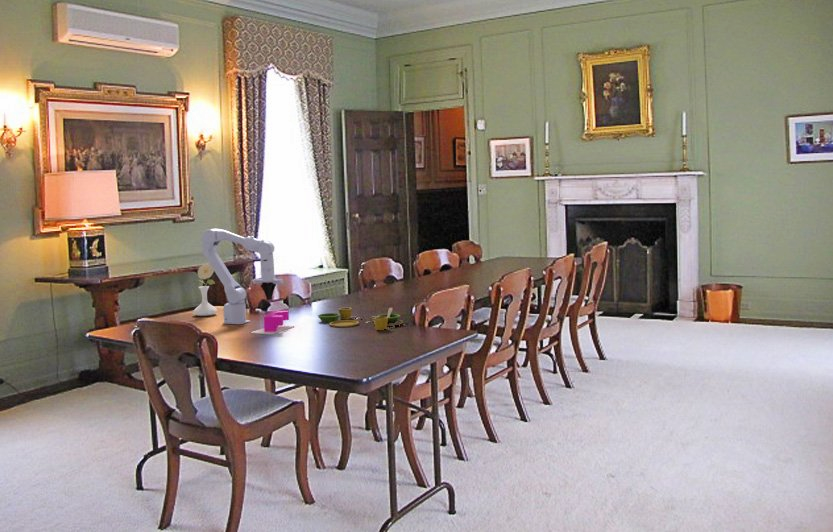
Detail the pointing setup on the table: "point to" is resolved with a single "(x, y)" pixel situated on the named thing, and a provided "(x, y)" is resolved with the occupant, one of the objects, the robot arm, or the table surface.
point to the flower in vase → (205, 292)
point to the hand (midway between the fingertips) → (269, 299)
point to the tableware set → (345, 313)
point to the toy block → (274, 320)
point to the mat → (279, 329)
